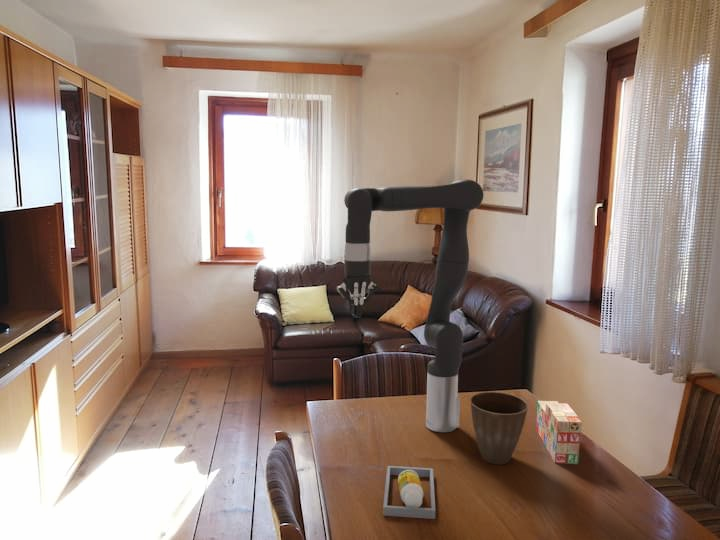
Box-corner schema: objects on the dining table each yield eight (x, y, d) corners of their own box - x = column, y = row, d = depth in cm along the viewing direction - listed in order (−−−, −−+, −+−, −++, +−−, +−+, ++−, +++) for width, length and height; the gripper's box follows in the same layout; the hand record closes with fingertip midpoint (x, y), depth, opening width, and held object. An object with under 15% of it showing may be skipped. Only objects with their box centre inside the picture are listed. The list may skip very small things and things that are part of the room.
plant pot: (534, 457, 151) (537, 402, 149) (507, 478, 141) (510, 418, 138) (486, 440, 161) (488, 387, 159) (457, 458, 151) (459, 402, 148)
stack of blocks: (535, 429, 170) (537, 390, 168) (556, 430, 169) (558, 391, 167) (554, 464, 148) (557, 420, 147) (578, 465, 148) (582, 421, 146)
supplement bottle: (412, 492, 135) (418, 516, 126) (393, 483, 135) (397, 506, 125) (423, 474, 135) (429, 496, 125) (403, 465, 134) (408, 487, 125)
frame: (387, 473, 143) (387, 465, 142) (432, 475, 142) (432, 468, 141) (383, 515, 124) (383, 507, 124) (435, 519, 123) (435, 510, 123)
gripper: (341, 261, 153) (341, 322, 156) (383, 258, 159) (383, 317, 161) (331, 257, 160) (331, 316, 163) (372, 255, 166) (371, 312, 168)
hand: (357, 316), depth 162 cm, fingers closed
